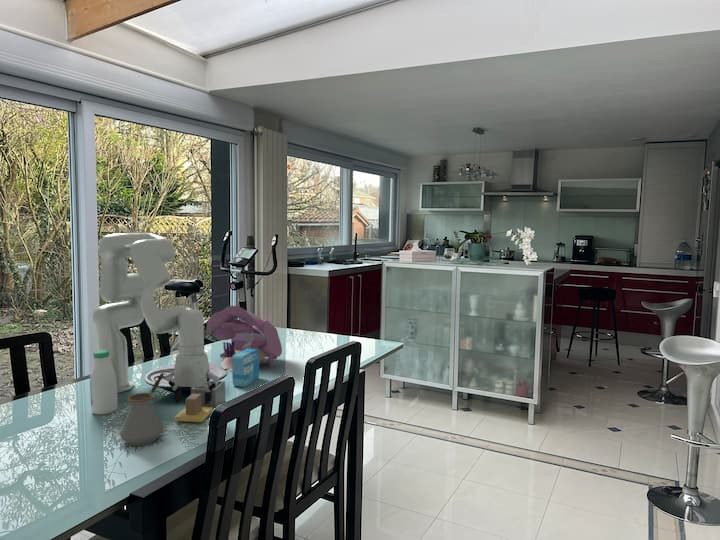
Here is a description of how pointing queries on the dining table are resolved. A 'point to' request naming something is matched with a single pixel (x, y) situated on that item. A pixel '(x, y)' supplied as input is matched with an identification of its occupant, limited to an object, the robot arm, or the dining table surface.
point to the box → (217, 394)
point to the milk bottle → (103, 384)
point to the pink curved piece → (244, 334)
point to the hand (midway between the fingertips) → (193, 402)
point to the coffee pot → (142, 419)
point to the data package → (245, 367)
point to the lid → (193, 410)
